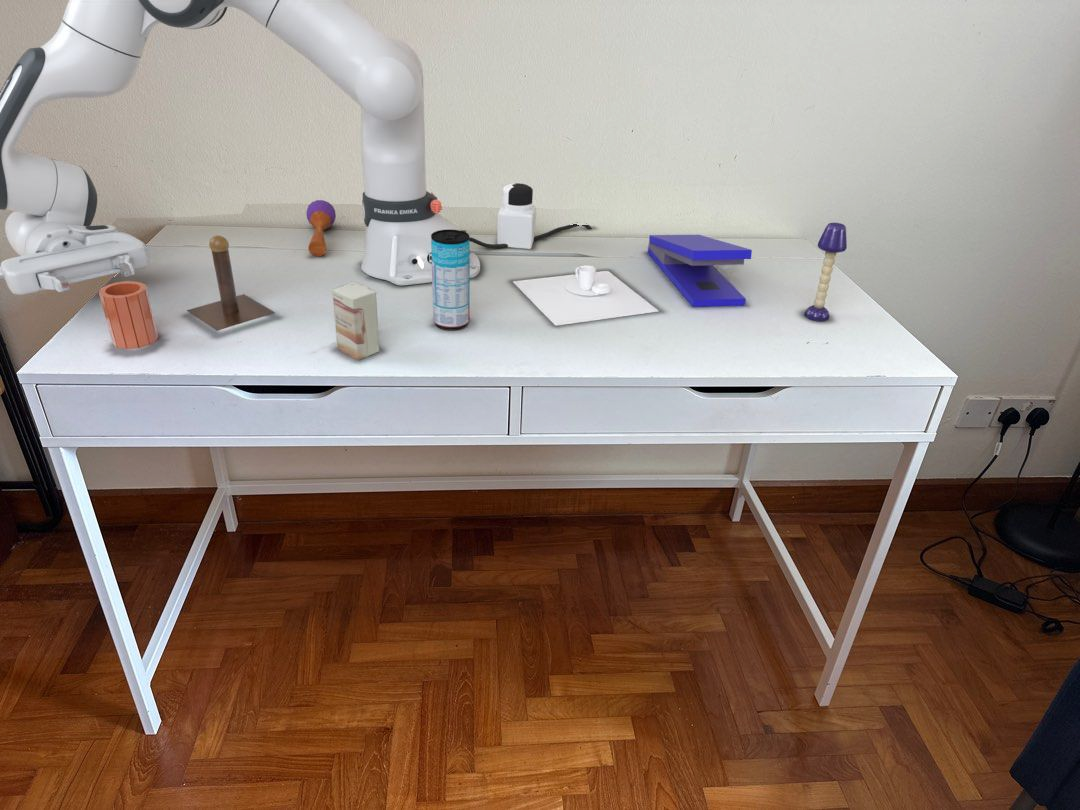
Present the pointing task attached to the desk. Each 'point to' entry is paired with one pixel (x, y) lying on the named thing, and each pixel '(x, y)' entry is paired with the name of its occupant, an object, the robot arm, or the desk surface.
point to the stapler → (699, 267)
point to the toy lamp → (827, 268)
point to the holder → (227, 294)
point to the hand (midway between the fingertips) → (97, 278)
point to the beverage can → (450, 279)
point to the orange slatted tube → (129, 314)
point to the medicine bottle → (517, 217)
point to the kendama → (319, 224)
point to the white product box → (356, 320)
